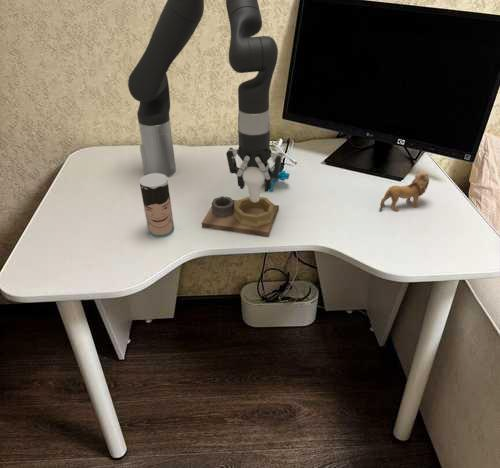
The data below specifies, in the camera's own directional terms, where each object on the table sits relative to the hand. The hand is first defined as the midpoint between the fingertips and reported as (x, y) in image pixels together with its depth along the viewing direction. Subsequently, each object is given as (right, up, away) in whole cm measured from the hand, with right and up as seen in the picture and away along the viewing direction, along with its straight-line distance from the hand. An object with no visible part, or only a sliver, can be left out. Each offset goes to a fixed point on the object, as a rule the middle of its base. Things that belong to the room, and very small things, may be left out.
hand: (254, 188), depth 118 cm
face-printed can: (-24, -11, +3) cm, 27 cm away
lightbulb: (0, -3, +2) cm, 4 cm away
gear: (+5, +3, +21) cm, 21 cm away
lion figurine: (+41, -4, +11) cm, 43 cm away
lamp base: (-4, -7, +6) cm, 10 cm away
